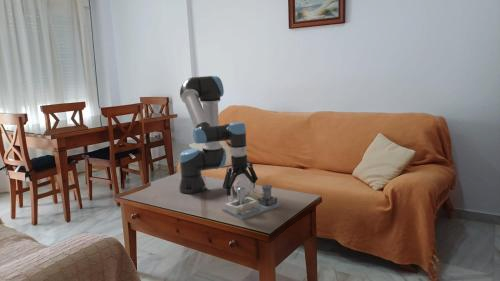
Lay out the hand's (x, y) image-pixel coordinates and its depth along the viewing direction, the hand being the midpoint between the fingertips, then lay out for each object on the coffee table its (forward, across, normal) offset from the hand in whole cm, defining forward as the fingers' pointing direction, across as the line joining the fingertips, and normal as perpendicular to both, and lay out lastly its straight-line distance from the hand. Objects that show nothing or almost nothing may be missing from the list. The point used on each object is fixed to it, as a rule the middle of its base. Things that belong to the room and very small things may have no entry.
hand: (241, 198), depth 185 cm
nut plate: (+6, +5, -1) cm, 8 cm away
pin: (+5, 0, 0) cm, 5 cm away
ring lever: (+5, +13, +2) cm, 14 cm away
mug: (+6, +15, +19) cm, 25 cm away
